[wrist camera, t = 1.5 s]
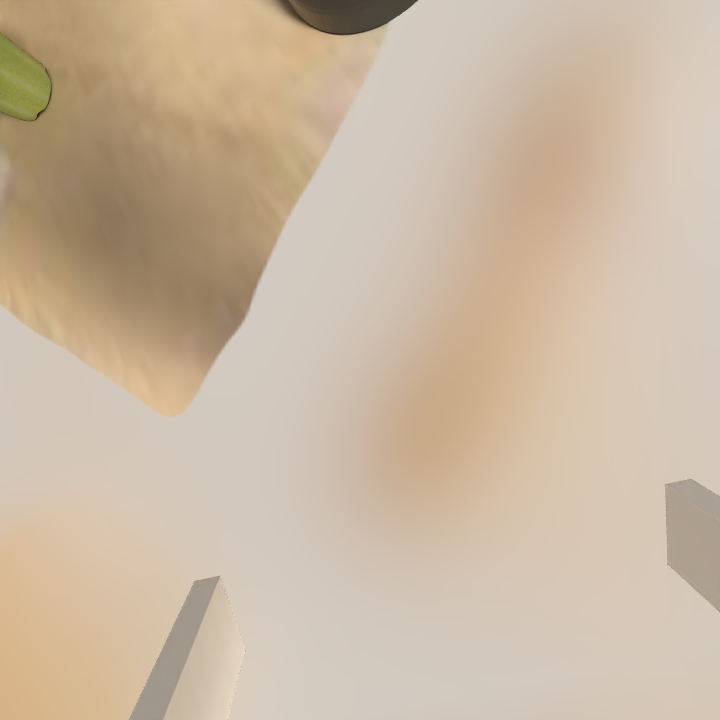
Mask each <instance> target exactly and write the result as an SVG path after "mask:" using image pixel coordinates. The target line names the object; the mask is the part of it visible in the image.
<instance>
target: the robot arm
mask: <svg viewBox="0 0 720 720" xmlns="http://www.w3.org/2000/svg"><path fill="white" fill-rule="evenodd" d="M288 1H289V3H290V5H291V6H292V8H293V9H294V11H295V12H296V13H297V14H298V15H299V16H300V17H301V18H302V19H303V20H304V21H305V22H307V23H308V24H310V25H311V26H313V27H315V28H317V29H320V30H323V31H326V32H331V33H338V34H348V33H357V32H362V31H366V30H369V29H373V28H375V27H378V26H380V25H382V24H384V23H387V22H388V21H390V20H392V19H394V18H395V17H397V16H399V15H400V14H402V13H403V12H404V11H406V10H407V9H408V8H410V7H411V6H412V5H413V4H414V3H415V2H417V1H418V0H288ZM665 493H666V526H667V560H668V565H669V566H670V567H671V568H672V569H673V570H674V571H676V572H677V573H678V574H679V575H680V576H681V577H682V578H683V579H684V580H685V581H687V582H688V583H689V584H690V585H691V586H692V587H693V588H694V589H695V590H696V591H697V592H699V593H700V594H701V595H702V596H703V597H704V598H705V599H706V600H707V601H708V602H709V603H710V604H711V605H713V606H714V607H715V608H716V609H717V610H718V611H719V612H720V496H719V495H717V494H715V493H714V492H712V491H710V490H709V489H707V488H705V487H704V486H702V485H700V484H699V483H697V482H696V481H694V480H692V479H689V480H684V481H679V482H674V483H669V484H665ZM244 654H245V648H244V645H243V642H242V639H241V636H240V633H239V630H238V627H237V624H236V621H235V618H234V615H233V612H232V609H231V606H230V603H229V600H228V598H227V594H226V591H225V588H224V585H223V582H222V579H221V576H217V577H212V578H207V579H203V580H197V581H195V582H194V583H193V585H192V587H191V590H190V592H189V594H188V596H187V598H186V600H185V602H184V605H183V607H182V609H181V611H180V613H179V615H178V617H177V619H176V621H175V623H174V626H173V628H172V630H171V632H170V634H169V636H168V638H167V640H166V643H165V645H164V647H163V649H162V651H161V653H160V655H159V657H158V659H157V661H156V664H155V666H154V668H153V670H152V672H151V674H150V676H149V678H148V680H147V683H146V685H145V687H144V689H143V691H142V693H141V695H140V697H139V700H138V702H137V704H136V706H135V708H134V710H133V712H132V714H131V716H130V719H129V720H228V717H229V713H230V709H231V706H232V702H233V698H234V694H235V690H236V686H237V682H238V678H239V674H240V670H241V666H242V662H243V658H244Z"/></svg>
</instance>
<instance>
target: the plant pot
mask: <svg viewBox="0 0 720 720" xmlns="http://www.w3.org/2000/svg"><path fill="white" fill-rule="evenodd" d="M50 92H51V81H50V78H49V77H48V75H47V73H46V71H45V67H44V66H43V65H41V64H40V63H39V62H38V61H36V60H35V59H34V58H33V57H31V56H30V55H29V54H27V53H26V52H25V51H24V50H22V49H21V48H20V47H19V46H17V45H16V44H15V43H13V42H12V41H11V40H10V39H8V38H7V37H6V36H5V35H3V34H2V33H1V32H0V111H1V112H3V113H6V114H8V115H11V116H14V117H17V118H19V119H22V120H25V121H31V120H34V119H36V118H37V114H38V113H39V112H40V111H42V110H44V109H45V108H46V106H47V104H48V102H49V98H50Z"/></svg>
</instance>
